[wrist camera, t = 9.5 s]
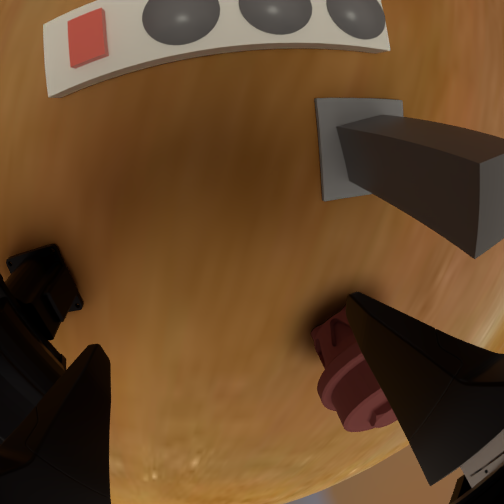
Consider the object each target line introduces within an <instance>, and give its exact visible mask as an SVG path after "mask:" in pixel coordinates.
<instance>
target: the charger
mask: <svg viewBox="0 0 504 504" xmlns="http://www.w3.org/2000/svg"><path fill="white" fill-rule="evenodd" d="M336 128H337V132H338V136H339V140H340V144H341V148H342V152H343V156H344V160H345V164H346V169H347V173H348V178H349V181H350V182H352V183H354V184H356V185H358V186H360V187H361V188H363V189H365V190H367V191H369V192H371V193H372V194H374V195H376V196H378V197H379V198H381V199H383V200H385V201H386V202H388V203H390V204H392V205H393V206H395V207H397V208H398V209H400V210H402V211H403V212H405V213H407V214H408V215H410V216H412V217H413V218H415V219H416V220H418V221H420V222H421V223H423V224H424V225H426V226H427V227H429V228H430V229H432V230H434V231H435V232H437V233H438V234H440V235H441V236H443V237H444V238H446V239H447V240H448V241H450V242H451V243H453V244H454V245H456V246H457V247H459V248H460V249H461V250H463V251H464V252H466V253H467V254H468V255H470V256H471V257H472V258H474V259H476V258H477V257H478V256H480V255H481V254H483V253H484V252H486V251H487V250H488V249H490V248H491V247H493V246H494V245H495V244H497V243H498V242H499V241H501V240H502V239H503V238H504V139H503V138H499V137H496V136H493V135H489V134H485V133H482V132H478V131H474V130H470V129H466V128H461V127H457V126H452V125H447V124H442V123H437V122H432V121H426V120H420V119H414V118H407V117H400V116H392V115H383V114H382V115H378V116H374V117H370V118H366V119H362V120H358V121H355V122H351V123H347V124H344V125H340V126H336Z"/></svg>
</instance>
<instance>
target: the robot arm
mask: <svg viewBox="0 0 504 504" xmlns="http://www.w3.org/2000/svg"><path fill="white" fill-rule="evenodd" d="M52 249H53V250H54V252H53V251H52ZM10 262H11V263H12V264H11V263H10ZM6 264H7V266H8V268H9V271H10V273H11V275H10V276H9V277H8V279H7V280H6V281H5V282H4V281H3V277H2V275H1V274H0V504H111V499H110V480H109V430H110V409H111V373H110V360H109V358H108V356H107V355H106V353H105V352H104V350H103V348H102V347H101V345H99V344H91V345H88V346H87V348H86V349H85V350H84V351H83V352H82V353H81V354H80V355H79V356H78V357H77V359H76V360H75V361H74V362H73V363H72V364H71V365H70V366H69V368H68V369H67V370H66V358H65V357H64V356H63V355H62V354H60V353H59V352H58V351H57V350H56V349H55V348H54V347H53V345H52V344H51V343H50V342H49V341H48V340H53V339H54V337H55V334H56V332H57V330H58V328H59V326H60V323H61V322H63V321H64V319H65V317H66V315H67V313H68V312H71V311H77V310H81V309H82V307H83V301H82V299H81V297H80V295H79V293H78V290H77V288H76V285H75V283H74V281H73V279H72V277H71V275H70V273H69V270H68V268H67V267H66V265H65V263H64V260H63V258H62V256H61V253H60V251H59V248H58V247H57V245H55V244H50V245H46V246H43V247H40V248H37V249H33V250H30V251H27V252H24V253H21V254H18V255H14V256H11V257H9V258H8V259H7V261H6ZM77 303H78V304H79V305H78V304H77ZM346 317H347V320H348V322H349V324H350V327H351V329H352V332H353V334H354V336H355V339H356V341H357V343H358V346H359V348H360V350H361V352H362V354H363V356H364V358H365V360H366V362H367V363H368V365H369V367H370V369H371V371H372V373H373V374H374V376H375V378H376V380H377V382H378V384H379V385H380V387H381V389H382V391H383V393H384V395H385V397H386V398H387V400H388V402H389V404H390V406H391V408H392V410H393V412H394V414H395V416H396V418H397V419H398V421H399V423H400V425H401V427H402V429H403V431H404V433H405V435H406V437H407V439H408V441H409V444H410V445H411V448H412V449H413V452H414V454H415V456H416V458H417V460H418V462H419V464H420V466H421V468H422V470H423V472H424V475H425V477H426V479H427V481H428V483H429V485H430V486H431V485H433V484H435V483H436V482H438V481H439V480H441V479H442V478H444V477H446V476H447V475H449V474H450V473H452V472H453V471H454V470H456V469H457V468H459V467H461V469H462V471H463V473H464V475H463V476H461V477H460V478H459V479H457V482H456V486H455V489H454V492H453V495H452V497H451V500H450V503H449V504H504V354H499V353H494V352H491V351H488V350H486V349H483V348H480V347H478V346H475V345H472V344H470V343H467V342H465V341H462V340H460V339H457V338H455V337H453V336H450V335H448V334H446V333H444V332H442V331H440V330H438V329H436V330H435V328H433V327H431V326H429V325H427V324H425V323H423V322H421V321H419V320H417V319H415V318H413V317H411V316H409V315H406V314H404V313H402V312H400V311H398V310H396V309H394V308H392V307H390V306H388V305H386V304H384V303H381V302H379V301H377V300H375V299H373V298H371V297H369V296H367V295H365V294H362V293H360V292H354V293H351V294H349V295H348V296H347V302H346Z"/></svg>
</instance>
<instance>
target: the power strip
mask: <svg viewBox="0 0 504 504" xmlns="http://www.w3.org/2000/svg"><path fill="white" fill-rule="evenodd" d="M43 37H44V59H45V71H46V81H47V90H48V97H51V98H62V97H64V96H66V95H69V94H71V93H73V92H76V91H78V90H81V89H83V88H86V87H88V86H91V85H94V84H97V83H99V82H102V81H105V80H108V79H111V78H114V77H117V76H120V75H124V74H127V73H130V72H134V71H137V70H141V69H144V68H148V67H152V66H156V65H160V64H165V63H169V62H174V61H179V60H184V59H189V58H194V57H200V56H206V55H213V54H220V53H228V52H238V51H248V50H262V49H286V48H311V49H335V50H349V51H359V52H368V53H381V52H386V51H390V45H389V39H388V33H387V28H386V23H385V15H384V12H383V8H382V4H381V0H97V1H94V2H92V3H89V4H87V5H84V6H82V7H79V8H77V9H75V10H72V11H70V12H68V13H66V14H64V15H61V16H59V17H57V18H55V19H53V20H51V21H49V22H47V23H45V24H43Z"/></svg>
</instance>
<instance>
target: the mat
mask: <svg viewBox="0 0 504 504" xmlns="http://www.w3.org/2000/svg"><path fill="white" fill-rule="evenodd" d="M315 108H316V118H317V129H318V140H319V153H320V168H321V185H322V200H323V201H329V200H336V199H342V198H348V197H355V196H361V195H368V194H372V193H371V192H369V191H367V190H365V189H363V188H361V187H360V186H358V185H356V184H354V183H352V182H350V181H349V178H348V173H347V169H346V164H345V160H344V156H343V152H342V148H341V144H340V140H339V136H338V132H337V128H336V126H340V125H344V124H347V123H351V122H355V121H358V120H362V119H366V118H370V117H374V116H378V115H382V114H383V115H392V116H400V117H403V103H402V100H391V99H373V98H315Z"/></svg>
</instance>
